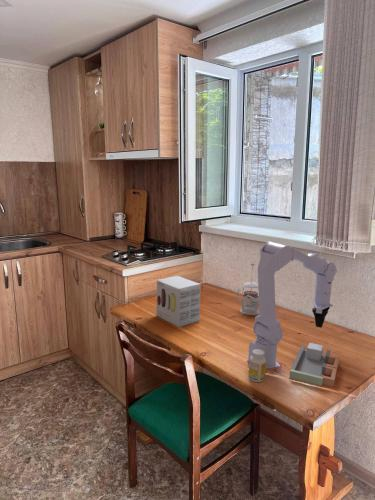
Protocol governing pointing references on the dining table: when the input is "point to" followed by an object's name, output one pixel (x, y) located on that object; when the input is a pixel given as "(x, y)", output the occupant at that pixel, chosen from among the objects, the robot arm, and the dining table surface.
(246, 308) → the french press
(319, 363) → the box
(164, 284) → the supplement box
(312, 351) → the block
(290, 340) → the dining table surface
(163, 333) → the dining table surface
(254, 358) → the supplement bottle
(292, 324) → the dining table surface
